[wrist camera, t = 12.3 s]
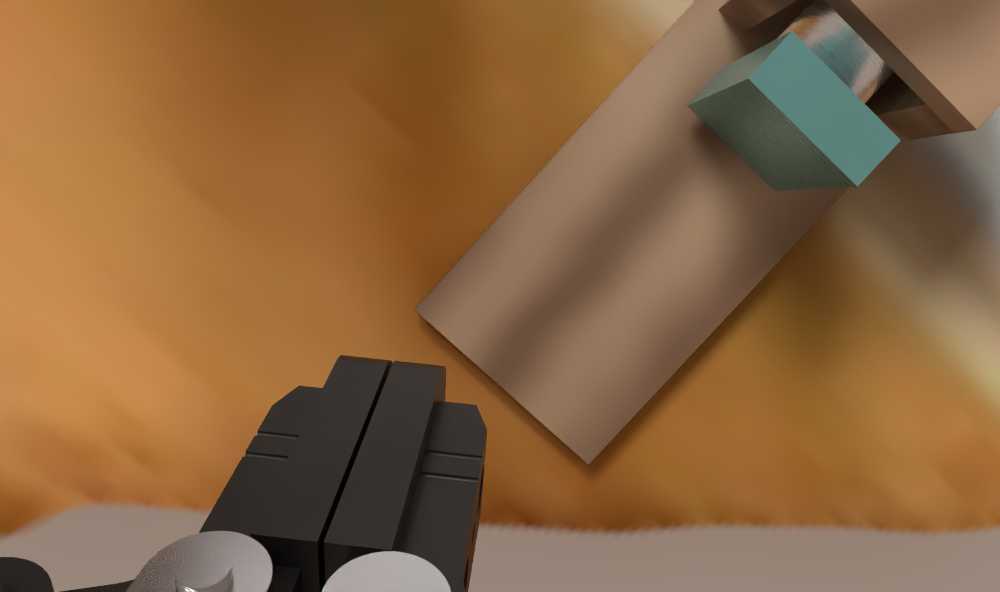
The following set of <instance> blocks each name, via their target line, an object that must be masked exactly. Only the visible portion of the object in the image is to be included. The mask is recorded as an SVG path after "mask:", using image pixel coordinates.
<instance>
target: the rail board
mask: <svg viewBox="0 0 1000 592" xmlns="http://www.w3.org/2000/svg"><path fill="white" fill-rule="evenodd" d="M811 1H812V0H695V1H694V3H693V4H692V5H691V6H690V7H689V8H688V9H687V10H686V11H685V12H684V14H683V15H682V16H681V17H680V18H679V19H678V20H677V21H676V22H675V23H674V25H673V26H672V27H671V28H670V29H669V30H668V31H667V32H666V33H665V34H664V36H663V37H662V38H661V39H660V40H659V41H658V42H657V43H656V44H655V45H654V46H653V48H652V49H651V50H650V51H649V52H648V53H647V54H646V55H645V56H644V57H643V59H642V60H641V61H640V62H639V63H638V64H637V65H636V66H635V67H634V68H633V70H632V71H631V72H630V73H629V74H628V75H627V76H626V77H625V78H624V79H623V81H622V82H621V83H620V84H619V85H618V86H617V87H616V88H615V89H614V90H613V92H612V93H611V94H610V95H609V96H608V97H607V98H606V99H605V100H604V101H603V103H602V104H601V105H600V106H599V107H598V108H597V109H596V110H595V111H594V112H593V113H592V115H591V116H590V117H589V118H588V119H587V120H586V121H585V122H584V123H583V124H582V126H581V127H580V128H579V129H578V130H577V131H576V132H575V133H574V134H573V135H572V137H571V138H570V139H569V140H568V141H567V142H566V143H565V144H564V145H563V146H562V148H561V149H560V150H559V151H558V152H557V153H556V154H555V155H554V156H553V157H552V159H551V160H550V161H549V162H548V163H547V164H546V165H545V166H544V167H543V168H542V170H541V171H540V172H539V173H538V174H537V175H536V176H535V177H534V178H533V179H532V181H531V182H530V183H529V184H528V185H527V186H526V187H525V188H524V189H523V190H522V191H521V193H520V194H519V195H518V196H517V197H516V198H515V199H514V200H513V201H512V202H511V204H510V205H509V206H508V207H507V208H506V209H505V210H504V211H503V212H502V213H501V215H500V216H499V217H498V218H497V219H496V220H495V221H494V222H493V223H492V224H491V226H490V227H489V228H488V229H487V230H486V231H485V232H484V233H483V234H482V235H481V237H480V238H479V239H478V240H477V241H476V242H475V243H474V244H473V245H472V246H471V248H470V249H469V250H468V251H467V252H466V253H465V254H464V255H463V256H462V257H461V258H460V260H459V261H458V262H457V263H456V264H455V265H454V266H453V267H452V268H451V269H450V271H449V272H448V273H447V274H446V275H445V276H444V277H443V278H442V279H441V280H440V282H439V283H438V284H437V285H436V286H435V287H434V288H433V289H432V290H431V291H430V293H429V294H428V295H427V296H426V297H425V298H424V299H423V300H422V301H421V302H420V304H419V305H418V306H417V307H416V309H415V311H416V312H417V313H419V314H420V315H421V316H422V317H423V318H424V319H425V320H426V321H428V322H429V323H430V324H431V325H432V326H433V327H434V328H435V329H437V330H438V331H439V332H440V333H441V334H442V335H443V336H444V337H446V338H447V339H448V340H449V341H450V342H451V343H452V344H453V345H455V346H456V347H457V348H458V349H459V350H460V351H461V352H462V353H464V354H465V355H466V356H467V357H468V358H469V359H470V360H471V361H472V362H474V363H475V364H476V365H477V366H478V367H479V368H480V369H481V370H483V371H484V372H485V373H486V374H487V375H488V376H489V377H490V378H492V379H493V380H494V381H495V382H496V383H497V384H498V385H499V386H501V387H502V388H503V389H504V390H505V391H506V392H507V393H508V394H510V395H511V396H512V397H513V398H514V399H515V400H516V401H517V402H519V403H520V404H521V405H522V406H523V407H524V408H525V409H526V410H528V411H529V412H530V413H531V414H532V415H533V416H534V417H535V418H537V419H538V420H539V421H540V422H541V423H542V424H543V425H544V426H545V427H547V428H548V429H549V430H550V431H551V432H552V433H553V434H554V435H556V436H557V437H558V438H559V439H560V440H561V441H562V442H563V443H565V444H566V445H567V446H568V447H569V448H570V449H571V450H572V451H574V452H575V453H576V454H577V455H578V456H579V457H580V458H581V459H583V460H584V461H585V462H586V463H587V464H588V465H589V464H590V462H591V461H592V460H593V459H594V458H595V457H596V456H597V455H598V454H599V453H600V452H601V451H602V450H603V449H604V448H605V446H606V445H607V444H608V443H609V442H610V441H611V440H612V439H613V438H614V437H615V436H616V435H617V434H618V433H619V432H620V430H621V429H622V428H623V427H624V426H625V425H626V424H627V423H628V422H629V421H630V420H631V419H632V418H633V417H634V416H635V414H636V413H637V412H638V411H639V410H640V409H641V408H642V407H643V406H644V405H645V404H646V403H647V402H648V401H649V399H650V398H651V397H652V396H653V395H654V394H655V393H656V392H657V391H658V390H659V389H660V388H661V387H662V386H663V385H664V383H665V382H666V381H667V380H668V379H669V378H670V377H671V376H672V375H673V374H674V373H675V372H676V371H677V370H678V369H679V367H680V366H681V365H682V364H683V363H684V362H685V361H686V360H687V359H688V358H689V357H690V356H691V355H692V354H693V353H694V351H695V350H696V349H697V348H698V347H699V346H700V345H701V344H702V343H703V342H704V341H705V340H706V339H707V338H708V336H709V335H710V334H711V333H712V332H713V331H714V330H715V329H716V328H717V327H718V326H719V325H720V324H721V323H722V322H723V320H724V319H725V318H726V317H727V316H728V315H729V314H730V313H731V312H732V311H733V310H734V309H735V308H736V307H737V306H738V304H739V303H740V302H741V301H742V300H743V299H744V298H745V297H746V296H747V295H748V294H749V293H750V292H751V291H752V290H753V288H754V287H755V286H756V285H757V284H758V283H759V282H760V281H761V280H762V279H763V278H764V277H765V276H766V275H767V273H768V272H769V271H770V270H771V269H772V268H773V267H774V266H775V265H776V264H777V263H778V262H779V261H780V260H781V259H782V257H783V256H784V255H785V254H786V253H787V252H788V251H789V250H790V249H791V248H792V247H793V246H794V245H795V244H796V243H797V241H798V240H799V239H800V238H801V237H802V236H803V235H804V234H805V233H806V232H807V231H808V230H809V229H810V228H811V226H812V225H813V224H814V223H815V222H816V221H817V220H818V219H819V218H820V217H821V216H822V215H823V214H824V213H825V212H826V210H827V209H828V208H829V207H830V206H831V205H832V204H833V203H834V202H835V201H836V200H837V199H838V198H839V197H840V196H841V194H842V193H843V192H844V191H845V190H846V189H847V188H848V187H842V188H822V189H802V190H782V191H774V190H773V189H772V188H771V187H770V186H769V185H768V184H767V183H766V182H765V181H764V180H763V179H762V178H761V177H760V176H759V175H757V174H756V173H755V172H754V171H753V170H752V169H751V168H750V167H749V166H748V165H747V164H746V163H745V162H744V161H743V160H742V159H741V158H740V157H739V156H738V155H737V154H736V153H735V152H734V151H733V150H732V149H731V148H730V147H729V146H728V145H727V144H726V143H725V142H724V141H723V140H722V139H721V138H719V137H718V136H717V135H716V134H715V133H714V132H713V131H712V130H711V129H710V128H709V127H708V126H707V125H706V124H705V123H704V122H703V121H702V120H701V119H700V118H699V117H698V116H697V115H696V114H695V113H694V112H693V111H692V110H691V109H690V108H689V107H688V106H687V105H688V104H689V103H690V102H691V101H692V100H693V99H694V98H695V96H696V95H697V94H698V93H699V92H700V91H701V90H702V89H703V88H704V87H705V86H706V84H707V83H708V82H709V81H710V80H711V79H712V78H713V77H714V76H715V75H716V74H717V72H718V71H719V70H720V69H721V68H723V67H725V66H727V65H728V64H730V63H732V62H734V61H736V60H738V59H740V58H742V57H744V56H745V55H747V54H749V53H751V52H753V51H755V50H757V49H759V48H760V47H762V46H764V45H766V44H768V43H770V42H772V41H774V40H775V39H777V38H778V37H779V36H780V35H781V34H782V33H783V32H784V31H785V29H786V28H787V27H788V26H789V25H790V24H791V23H792V22H793V21H794V20H795V19H796V17H797V16H798V15H799V14H800V13H801V12H802V11H803V10H804V9H805V8H806V7H807V6H808V4H809V3H810V2H811ZM825 1H826V2H827V3H828V4H829V5H830V6H831V7H832V8H833V10H834V11H835V12H836V13H837V14H838V15H839V16H840V17H841V18H842V19H843V20H844V21H845V22H846V23H847V24H848V25H849V26H850V27H851V28H852V29H853V30H854V31H855V32H856V33H857V34H858V35H859V36H860V37H861V38H862V39H863V40H864V41H865V42H866V43H867V44H868V45H869V46H870V47H871V48H872V49H873V50H874V51H875V52H876V53H877V54H878V55H879V56H880V57H881V58H882V59H883V61H884V62H885V63H886V64H887V65H888V66H889V67H890V68H891V69H892V70H893V71H894V73H893V74H892V75H891V76H890V77H889V78H888V79H887V80H886V81H885V83H884V84H883V85H882V86H881V87H880V88H879V89H878V90H877V91H876V92H875V93H874V94H873V95H872V96H871V98H870V99H869V100H868V101H867V102H866V103H865V105H866V106H867V107H868V108H869V109H870V110H871V111H872V112H873V113H874V114H875V115H876V116H877V117H878V118H879V119H880V120H881V121H882V122H883V123H884V124H885V125H886V126H887V127H888V128H889V129H890V130H891V131H892V132H893V133H894V134H895V135H896V136H897V137H898V138H899V139H900V140H901V141H904V140H911V139H918V138H925V137H931V136H938V135H945V134H951V133H958V132H965V131H972V130H977V129H978V128H979V127H980V126H981V125H982V124H983V123H984V122H985V121H986V120H987V119H988V118H989V116H990V115H991V114H992V113H993V112H994V111H995V110H996V109H997V108H998V107H999V106H1000V0H825Z"/></svg>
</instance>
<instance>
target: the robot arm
mask: <svg viewBox="0 0 1000 592" xmlns="http://www.w3.org/2000/svg"><path fill="white" fill-rule="evenodd" d="M445 389H446V368H445V366H437V365H428V364H419V363H410V362H401V361H394V362H393V363H392V361H390V360H380V359H371V358H362V357H353V356H344V355H341V356H340V357H339V358H338V359H337V361H336V363H335V365H334V367H333V369H332V371H331V373H330V375H329V377H328V379H327V381H326V383H325V385H324V387H323V388H315V387H306V386H298V387H297V388H295V389H294V390H293V391H291V392H290V393H289V394H287V395H286V396H285V397H283V398H282V399H281V400H279V401H278V402H276V403H275V404H274V405H272V407H271V409H270V410H269V412H268V414H267V416H266V417H265V419H264V421H263V422H262V424H261V426H260V428H259V429H258V434H257V436H254V438H253V440H252V442H251V443H250V445H249V447H248V448H247V450H246V455H245V457H242V459H241V461H240V462H239V464H238V466H237V468H236V469H235V471H234V473H233V474H232V476H231V478H230V480H229V481H228V483H227V485H226V487H225V488H224V490H223V492H222V494H221V495H220V497H219V499H218V500H217V502H216V504H215V506H214V507H213V509H212V511H211V513H210V514H209V516H208V518H207V520H206V521H205V523H204V525H203V526H202V528H201V530H200V532H199V533H198V534H194V535H190V536H188V537H185V538H182V539H180V540H178V541H176V542H174V543H172V544H170V545H168V546H167V547H165V548H164V549H162V550H161V551H159V552H158V553H157V554H156V555H155V556H153V557H152V558H151V559H150V560H149V561H148V563H147V564H146V565H145V566H144V567H143V569H142V570H141V571H140V573H139V574H138V575H137V577H136V578H135V579H134V580H130V581H127V582H122V583H118V584H111V585H104V586H97V587H90V588H83V589H76V590H69V591H61V592H468V588H469V582H470V575H471V569H472V563H473V557H474V550H475V544H476V538H477V532H478V526H479V520H480V514H481V503H482V490H483V476H484V463H485V450H486V437H487V428H486V426H485V424H484V422H483V419H482V417H481V415H480V413H479V410H478V408H477V406H476V405H470V404H461V403H452V402H445ZM0 592H54V589H53V586H52V582H51V579H50V577H49V575H48V573H47V572H46V571H45V570H44V569H43V568H42V567H41V566H39V565H38V564H36V563H34V562H31V561H29V560H26V559H21V558H15V557H0Z"/></svg>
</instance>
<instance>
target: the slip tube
mask: <svg viewBox="0 0 1000 592" xmlns="http://www.w3.org/2000/svg"><path fill="white" fill-rule="evenodd" d="M893 73H894V71H893V70H892V69H891V68H890V67H889V66H888V65H887V64H886V63H885V62H884V61H883V59H882V58H881V57H880V56H879V55H878V54H877V53H876V52H875V51H874V50H873V49H872V48H871V47H870V46H869V45H868V44H867V43H866V42H865V41H864V40H863V39H862V38H861V37H860V36H859V35H858V34H857V33H856V32H855V31H854V30H853V29H852V28H851V27H850V26H849V25H848V24H847V23H846V22H845V21H844V20H843V19H842V18H841V17H840V16H839V15H838V14H837V13H836V12H835V11H834V10H833V8H832V7H831V6H830V5H829V4H828V3H827V2H826V1H825V0H812V1H811V2H810V3H809V4H808V6H807V7H806V8H805V9H804V10H803V11H802V12H801V13H800V14H799V15H798V16H797V17H796V19H795V20H794V21H793V22H792V23H791V24H790V25H789V26H788V27H787V28H786V29H785V31H784V32H783V33H782V34H781V35H780V36H779V37H778V38H777V39H775V40H774V41H772V42H770V43H768V44H766V45H764V46H762V47H760V48H759V49H757V50H755V51H753V52H751V53H749V54H747V55H745V56H744V57H742V58H740V59H738V60H736V61H734V62H732V63H730V64H728V65H727V66H725V67H723V68H721V69H720V70H719V71H718V72H717V74H716V75H715V76H714V77H713V78H712V79H711V80H710V81H709V82H708V83H707V84H706V86H705V87H704V88H703V89H702V90H701V91H700V92H699V93H698V94H697V95H696V96H695V98H694V99H693V100H692V101H691V102H690V103H689V104H688V105H687V106H688V107H689V108H690V109H691V110H692V111H693V112H694V113H695V114H696V115H697V116H698V117H699V118H700V119H701V120H702V121H703V122H704V123H705V124H706V125H707V126H708V127H709V128H710V129H711V130H712V131H713V132H714V133H715V134H716V135H717V136H718V137H719V138H721V139H722V140H723V141H724V142H725V143H726V144H727V145H728V146H729V147H730V148H731V149H732V150H733V151H734V152H735V153H736V154H737V155H738V156H739V157H740V158H741V159H742V160H743V161H744V162H745V163H746V164H747V165H748V166H749V167H750V168H751V169H752V170H753V171H754V172H755V173H756V174H757V175H759V176H760V177H761V178H762V179H763V180H764V181H765V182H766V183H767V184H768V185H769V186H770V187H771V188H772V189H773V190H774V191H782V190H802V189H822V188H842V187H858V186H859V185H860V184H861V182H862V181H863V180H864V179H865V178H866V177H867V176H868V175H869V174H870V173H871V172H872V171H873V170H874V169H875V168H876V166H877V165H878V164H879V163H880V162H881V161H882V160H883V159H884V158H885V157H886V156H887V155H888V154H889V153H890V152H891V150H892V149H893V148H894V147H895V146H896V145H897V144H898V143H899V142H900V141H901V140H900V139H899V138H898V137H897V136H896V135H895V134H894V133H893V132H892V131H891V130H890V129H889V128H888V127H887V126H886V125H885V124H884V123H883V122H882V121H881V120H880V119H879V118H878V117H877V116H876V115H875V114H874V113H873V112H872V111H871V110H870V109H869V108H868V107H867V106H866V105H865V103H866V102H867V101H868V100H869V99H870V98H871V96H872V95H873V94H874V93H875V92H876V91H877V90H878V89H879V88H880V87H881V86H882V85H883V84H884V83H885V81H886V80H887V79H888V78H889V77H890V76H891V75H892V74H893Z"/></svg>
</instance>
